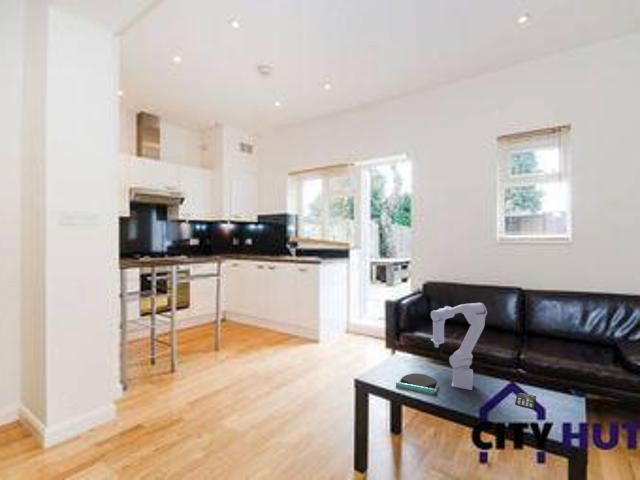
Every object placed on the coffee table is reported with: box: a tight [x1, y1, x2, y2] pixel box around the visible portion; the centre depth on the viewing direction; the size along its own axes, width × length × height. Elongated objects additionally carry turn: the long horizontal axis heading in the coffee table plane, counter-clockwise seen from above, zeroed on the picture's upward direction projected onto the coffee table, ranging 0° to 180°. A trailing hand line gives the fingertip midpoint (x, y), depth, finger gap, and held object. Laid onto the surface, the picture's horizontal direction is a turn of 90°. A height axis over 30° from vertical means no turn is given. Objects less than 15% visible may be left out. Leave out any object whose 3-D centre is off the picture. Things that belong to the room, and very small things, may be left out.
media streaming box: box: [401, 372, 438, 389], centre depth 176 cm, size 15×15×3 cm
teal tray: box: [395, 376, 440, 396], centre depth 172 cm, size 19×10×2 cm, turn 63°
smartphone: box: [514, 392, 537, 410], centre depth 158 cm, size 7×1×15 cm
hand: (438, 356), depth 188 cm, fingers closed
